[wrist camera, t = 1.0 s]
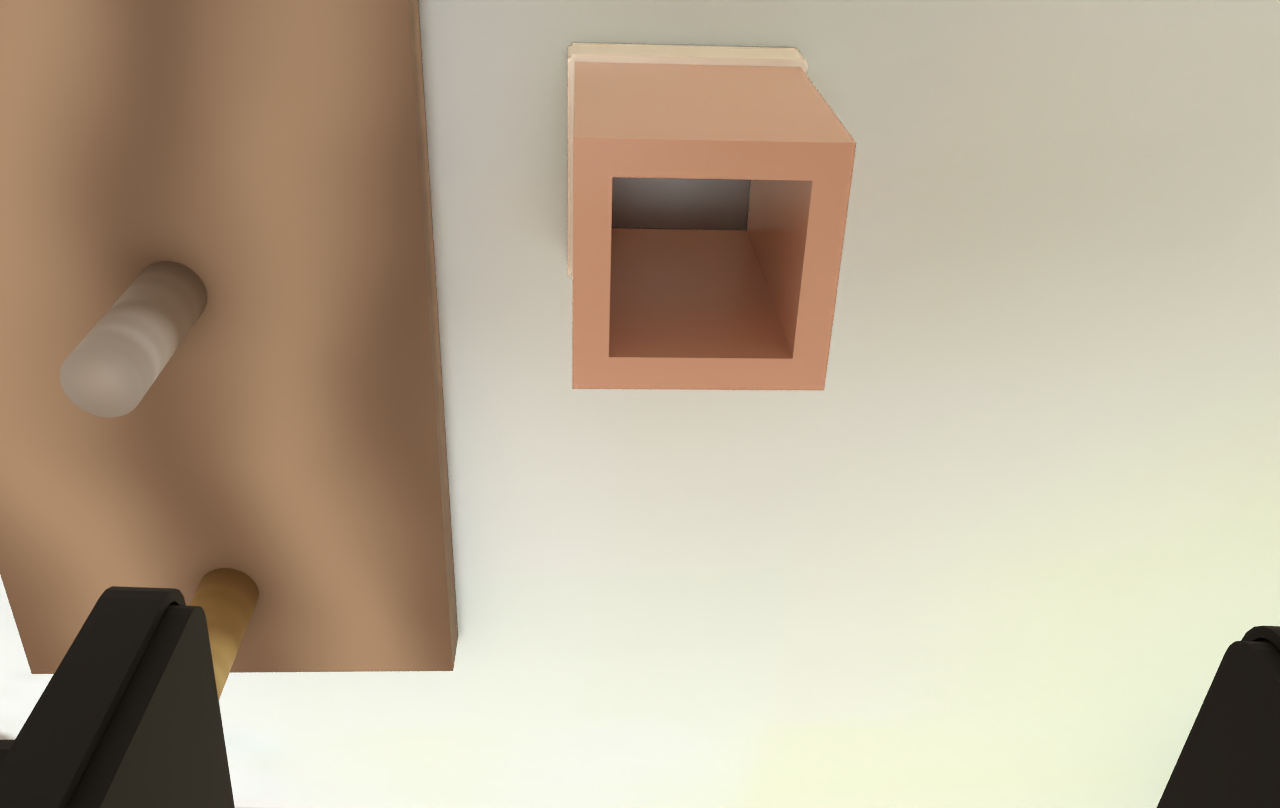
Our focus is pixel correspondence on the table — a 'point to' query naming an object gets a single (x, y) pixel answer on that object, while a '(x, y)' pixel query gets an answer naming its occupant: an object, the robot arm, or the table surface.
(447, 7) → the table surface
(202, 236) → the pin board
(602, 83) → the sleeve
